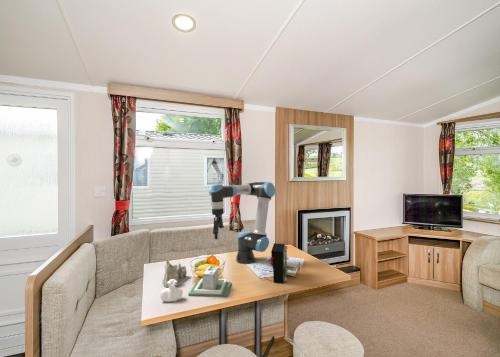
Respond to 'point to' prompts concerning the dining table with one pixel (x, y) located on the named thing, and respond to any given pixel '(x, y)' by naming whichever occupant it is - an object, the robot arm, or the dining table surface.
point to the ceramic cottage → (174, 274)
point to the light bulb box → (210, 278)
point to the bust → (171, 292)
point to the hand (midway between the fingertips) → (218, 240)
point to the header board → (218, 292)
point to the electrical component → (279, 262)
